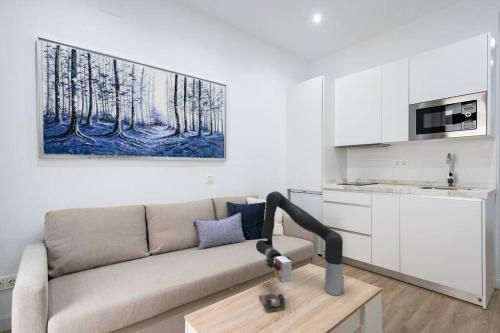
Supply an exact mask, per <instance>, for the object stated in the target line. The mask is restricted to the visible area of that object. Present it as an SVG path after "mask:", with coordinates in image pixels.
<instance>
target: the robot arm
mask: <svg viewBox="0 0 500 333" xmlns="http://www.w3.org/2000/svg"><path fill="white" fill-rule="evenodd" d="M278 208H279V209H281V210H282V211H284V212H285V213H286V214H287V215H288V216H289V218H290V219H291V220H292V221H293V222H294V223H295V224H296V225H298V226H299V227H301V228H302V229H303V230H305V231H308V232H310V233H313V234H315V235H317V236H318V237H319V238H321V239H322V240H324V242H325V243H324V244H325V245H324V255H325V256H324V257H325V259H324V260H325V261H324V262H325V263H324V264H325V270H324V272H325V275H324V276H325V278H324V281H325V282H324V283H325V284H324V292H326V293H327V294H329V295H331V296H341V295H342V294H344V291H345V289H344V288H345V287H344V286H345V284H344V283H345V282H344V281H345V280H344V279H345V277H344V275H343V252H344V251H343V249H344V247H343V243H344V241H343V236H342V235H341V234H340V233H339V232H337V231H335V230H334V229H332V228H330V227H328V226H326V225H324V224H323V223H322V222H320V221H319V220H318V219H316V218H315V217H314V216H313V215H311V214H310V213H309V212H307V211H305V210H304V209H302V208H301V207H299V205H297V204H295V203H294V202H292V201H290V199H288V198H287V197H286V196H284V195H283V194H282V193H281V192H279V191H275V190H274V191H271V192H270V193H268V194H267V196H266V198H265V214H264V220H263V224H262V225H263V226H262V229H261V237H262V238H263V240H262V239H261V240H260V239H259V240H258V241H257V242H256V244H255V248H256V250H257V252H258V253H259V254H262V255H264V256H265V257H266V259H265V264H266V266H267V267H268V268H269V269H274V270H275V269H276V270H277V271H279V266H278V265H277V264H276V263H275V257H279V256H283V255H282V254H281V253H280V252H279V250H277V249H276V248H275V247H274V246H273V245H274V244H273V234H274V229H275V216H276V212H277V209H278ZM264 239H265V240H264ZM286 258H287V259H289V260H290V261H292V262H293V260H292V259H291V258H290V257H289V256H287V257H286ZM292 269H293V267H292V268H291V270H292Z"/></svg>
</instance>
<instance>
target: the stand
mask: <svg viewBox="0 0 500 333" xmlns="http://www.w3.org/2000/svg"><path fill="white" fill-rule="evenodd" d="M285 298H286V297H285V296H284V295H283V294H282V293H279V294H277V295H276V294H275V293H268V294H261V295H260V294H259V296H258V299H259V301H260V302H261V304H262V305H263V308H264V309H265V311H266V313H267V314H271V313H277V312H283V311H285V309H286V308H285V305H286V304H285V302H286V300H285Z"/></svg>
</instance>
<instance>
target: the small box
mask: <svg viewBox="0 0 500 333" xmlns="http://www.w3.org/2000/svg"><path fill="white" fill-rule="evenodd" d="M275 263H276V264H277V265H278V266H279V271H277V270H276V269H275V268H274V278H276V279H277V280H278V281H279V282H280V283H282V284H285V283H290V282H292V269H293V260H292V261H290V260H289V259H287V257H286V256H285V255H282V256H279V257H275ZM291 268H292V269H291Z"/></svg>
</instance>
